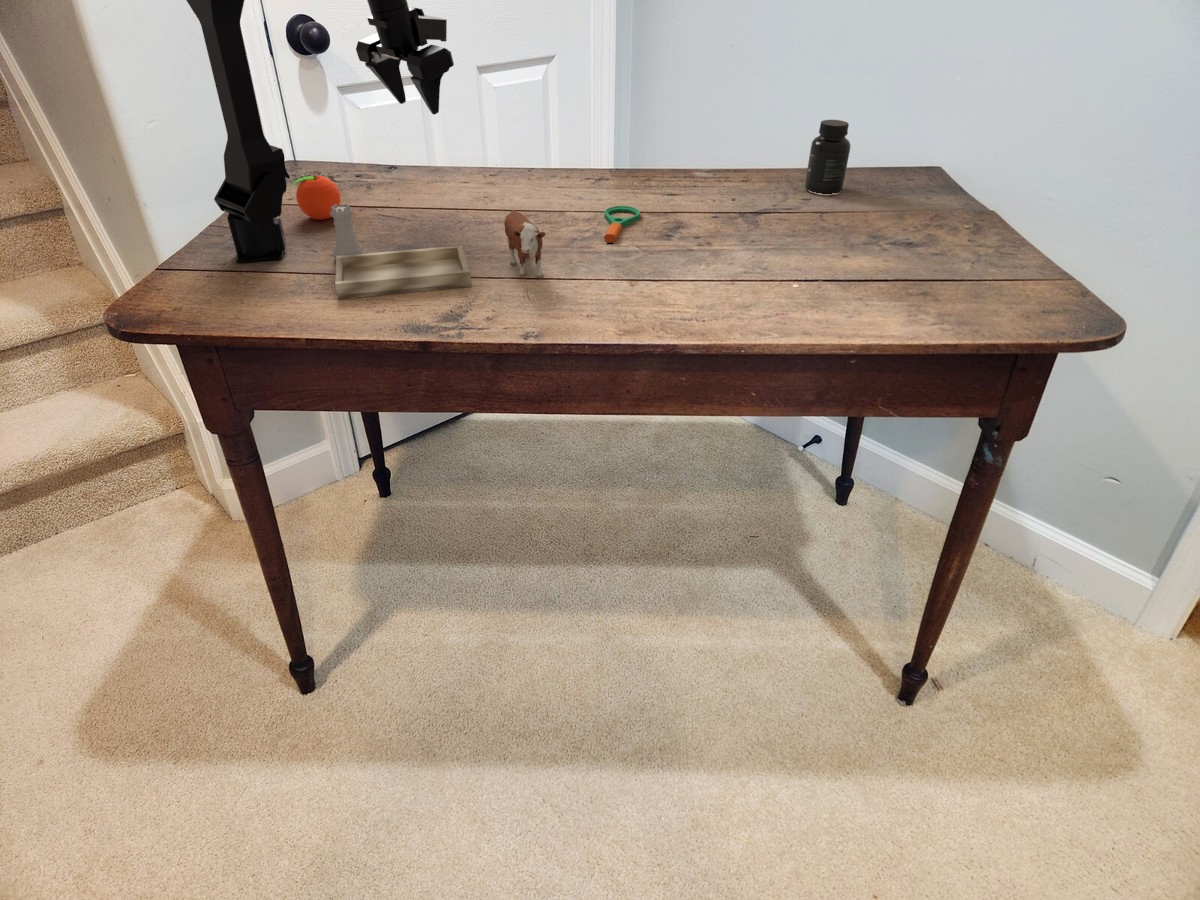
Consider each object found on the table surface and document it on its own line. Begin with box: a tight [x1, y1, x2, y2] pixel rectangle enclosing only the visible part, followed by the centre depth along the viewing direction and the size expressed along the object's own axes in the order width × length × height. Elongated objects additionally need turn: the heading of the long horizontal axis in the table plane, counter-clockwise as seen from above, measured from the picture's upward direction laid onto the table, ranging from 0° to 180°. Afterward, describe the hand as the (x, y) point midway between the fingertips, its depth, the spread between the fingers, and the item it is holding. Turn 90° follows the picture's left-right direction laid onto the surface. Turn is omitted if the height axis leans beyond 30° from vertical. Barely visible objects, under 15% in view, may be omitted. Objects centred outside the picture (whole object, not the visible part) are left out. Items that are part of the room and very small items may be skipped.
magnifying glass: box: [603, 205, 641, 243], centre depth 131 cm, size 15×6×2 cm, turn 169°
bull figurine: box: [503, 209, 546, 279], centre depth 113 cm, size 4×13×8 cm, turn 16°
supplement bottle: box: [804, 119, 851, 194], centre depth 143 cm, size 7×7×12 cm
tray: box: [334, 245, 472, 300], centre depth 112 cm, size 18×10×2 cm, turn 104°
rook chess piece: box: [330, 202, 365, 261], centre depth 116 cm, size 4×4×8 cm
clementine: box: [288, 174, 342, 221], centre depth 130 cm, size 8×7×7 cm
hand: (419, 108), depth 132 cm, fingers open, 9 cm apart
